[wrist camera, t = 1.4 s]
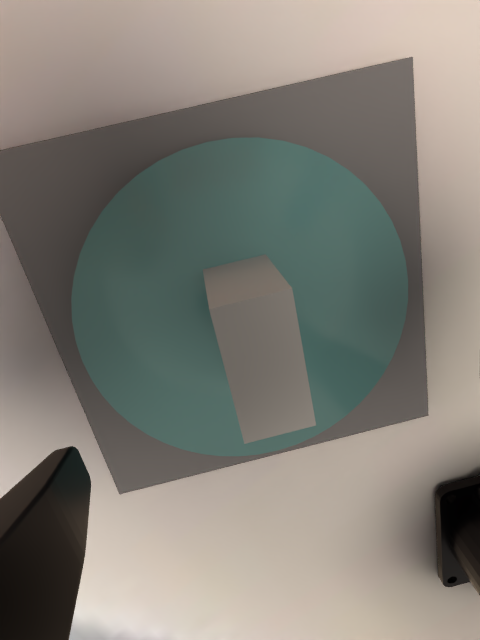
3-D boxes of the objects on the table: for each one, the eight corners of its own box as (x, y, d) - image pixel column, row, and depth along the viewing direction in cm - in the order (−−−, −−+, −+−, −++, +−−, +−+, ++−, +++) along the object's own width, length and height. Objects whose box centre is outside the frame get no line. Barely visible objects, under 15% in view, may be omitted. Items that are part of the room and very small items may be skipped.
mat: (423, 409, 18) (428, 415, 18) (120, 486, 18) (119, 494, 17) (406, 59, 13) (412, 57, 13) (-19, 156, 12) (-25, 156, 12)
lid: (403, 400, 17) (473, 480, 13) (137, 469, 17) (122, 574, 13) (381, 101, 13) (476, 78, 9) (23, 185, 13) (-56, 202, 8)
